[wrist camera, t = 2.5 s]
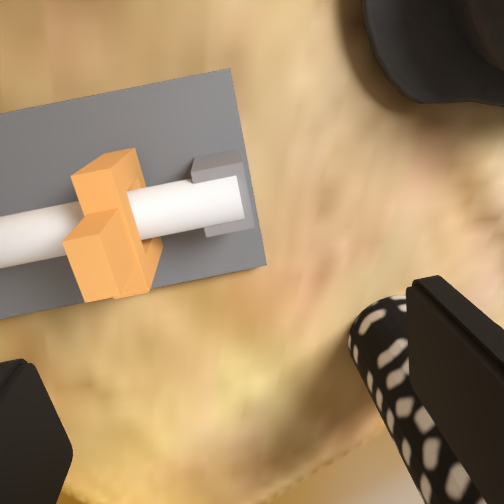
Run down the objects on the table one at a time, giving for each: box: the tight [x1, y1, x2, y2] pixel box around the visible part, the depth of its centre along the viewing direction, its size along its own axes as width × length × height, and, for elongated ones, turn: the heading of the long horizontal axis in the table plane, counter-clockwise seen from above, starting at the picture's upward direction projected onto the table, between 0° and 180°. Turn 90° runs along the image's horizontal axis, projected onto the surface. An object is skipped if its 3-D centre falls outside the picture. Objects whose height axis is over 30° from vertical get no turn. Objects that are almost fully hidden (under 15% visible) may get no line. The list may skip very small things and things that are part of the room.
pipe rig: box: [0, 68, 267, 319], centre depth 27 cm, size 30×14×8 cm, turn 100°
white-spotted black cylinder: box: [348, 295, 487, 504], centre depth 28 cm, size 8×8×20 cm
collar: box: [62, 147, 163, 303], centre depth 23 cm, size 2×7×11 cm, turn 10°
